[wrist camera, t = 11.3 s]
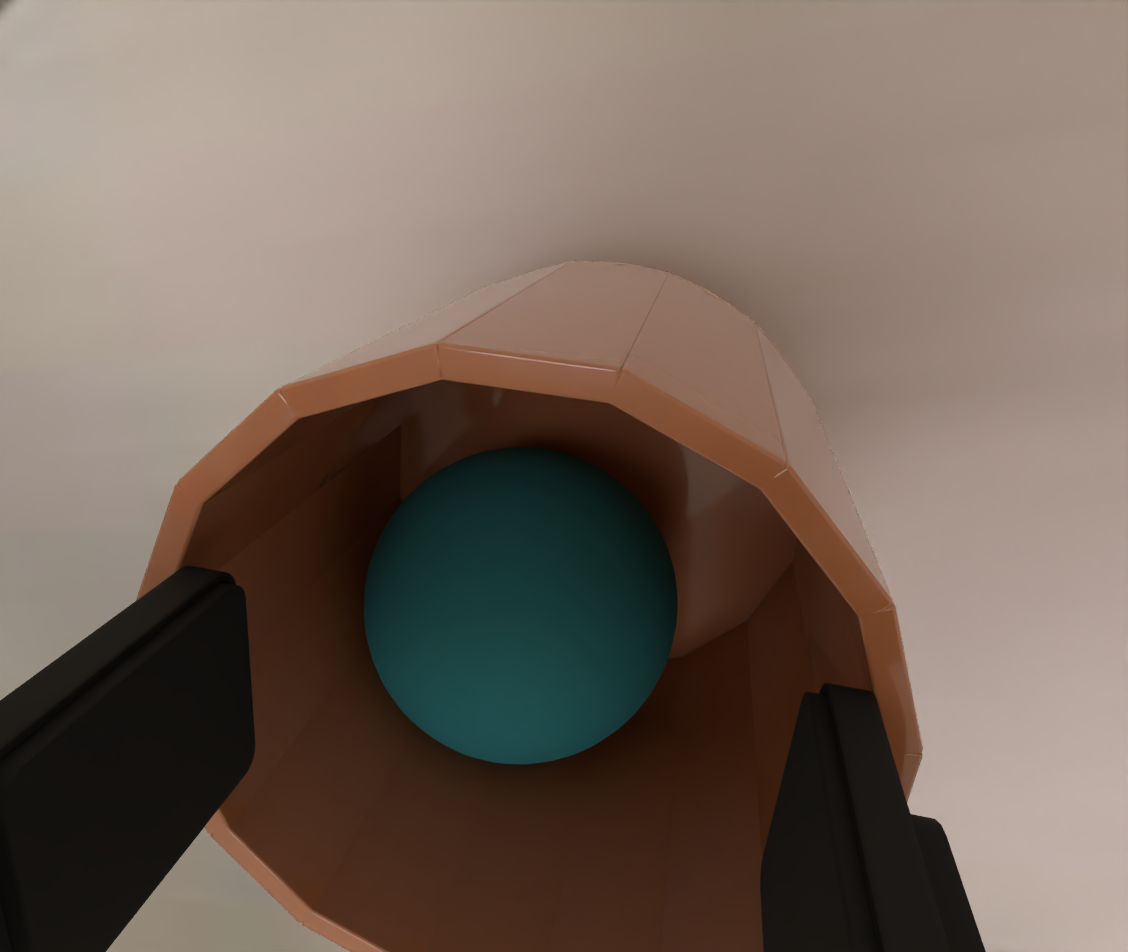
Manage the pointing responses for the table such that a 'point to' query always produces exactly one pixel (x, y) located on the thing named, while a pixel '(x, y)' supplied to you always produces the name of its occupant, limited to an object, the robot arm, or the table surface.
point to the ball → (520, 605)
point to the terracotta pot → (664, 721)
